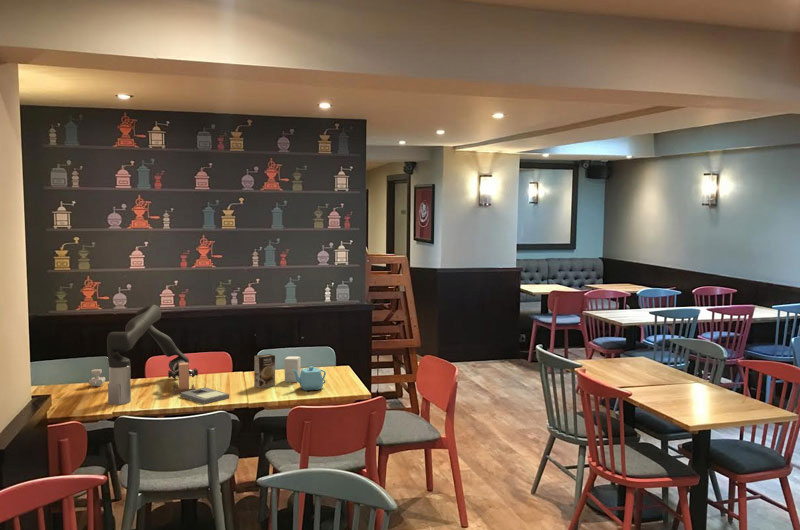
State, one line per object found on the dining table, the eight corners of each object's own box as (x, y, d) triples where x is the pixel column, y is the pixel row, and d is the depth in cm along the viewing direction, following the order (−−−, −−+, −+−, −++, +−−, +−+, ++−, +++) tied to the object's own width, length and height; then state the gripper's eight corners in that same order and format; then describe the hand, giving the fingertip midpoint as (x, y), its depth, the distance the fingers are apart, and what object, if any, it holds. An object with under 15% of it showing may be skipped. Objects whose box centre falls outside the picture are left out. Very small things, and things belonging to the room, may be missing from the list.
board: (229, 398, 313) (229, 393, 312) (204, 404, 302) (203, 399, 302) (205, 391, 325) (205, 386, 325) (180, 396, 315) (180, 392, 314)
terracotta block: (189, 391, 324) (188, 364, 323) (179, 392, 322) (179, 364, 321) (188, 389, 328) (187, 362, 327) (178, 390, 326) (178, 363, 325)
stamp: (102, 387, 331) (101, 371, 330) (88, 388, 330) (87, 372, 329) (106, 383, 340) (105, 367, 339) (92, 384, 338) (92, 368, 338)
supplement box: (301, 379, 352) (301, 356, 351) (297, 382, 345) (297, 359, 344) (287, 378, 353) (287, 355, 352) (284, 382, 346) (284, 358, 345)
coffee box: (259, 388, 331) (259, 357, 330) (254, 386, 336) (253, 355, 335) (275, 385, 337) (275, 355, 336) (269, 383, 342) (269, 353, 341)
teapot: (288, 387, 334) (288, 365, 334) (323, 384, 340) (323, 363, 340) (293, 393, 323) (293, 370, 322) (328, 390, 329) (328, 368, 328)
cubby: (195, 392, 322) (195, 388, 322) (174, 394, 319) (174, 390, 318) (193, 388, 331) (193, 384, 331) (172, 390, 327) (172, 386, 327)
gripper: (166, 363, 335) (168, 369, 320) (195, 361, 341) (198, 367, 326) (167, 377, 335) (169, 384, 321) (195, 375, 341) (198, 382, 326)
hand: (184, 376), depth 323 cm, fingers open, 8 cm apart
